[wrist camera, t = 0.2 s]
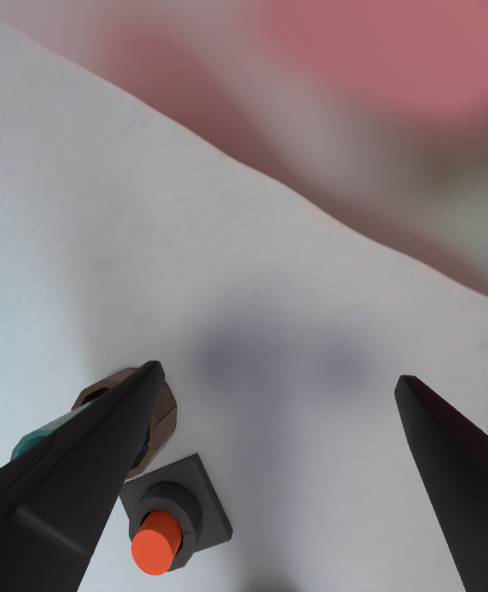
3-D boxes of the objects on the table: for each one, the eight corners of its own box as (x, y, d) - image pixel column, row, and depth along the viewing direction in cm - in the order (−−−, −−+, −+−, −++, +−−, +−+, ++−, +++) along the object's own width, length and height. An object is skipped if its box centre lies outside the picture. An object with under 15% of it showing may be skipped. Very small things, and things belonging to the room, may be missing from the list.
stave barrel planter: (190, 434, 25) (172, 460, 21) (121, 464, 26) (92, 494, 22) (154, 354, 26) (130, 365, 22) (88, 388, 27) (55, 403, 23)
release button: (171, 503, 23) (160, 523, 20) (189, 543, 22) (179, 568, 20) (138, 516, 23) (124, 537, 21) (155, 555, 23) (142, 581, 21)
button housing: (197, 453, 25) (185, 474, 22) (233, 530, 24) (225, 563, 21) (123, 484, 26) (102, 507, 23) (154, 558, 26) (137, 592, 23)
